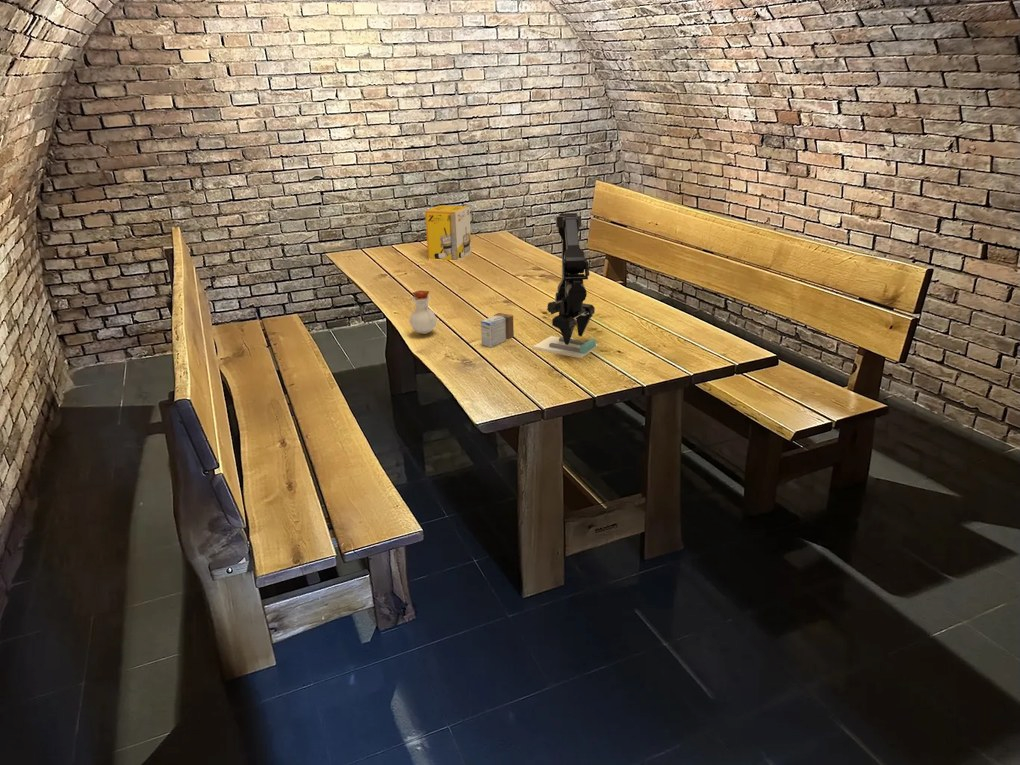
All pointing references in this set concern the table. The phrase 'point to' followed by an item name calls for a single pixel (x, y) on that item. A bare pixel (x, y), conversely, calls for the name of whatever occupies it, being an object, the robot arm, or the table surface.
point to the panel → (508, 324)
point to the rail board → (566, 346)
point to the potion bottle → (422, 314)
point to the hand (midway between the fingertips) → (573, 340)
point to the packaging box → (448, 232)
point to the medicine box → (493, 331)
